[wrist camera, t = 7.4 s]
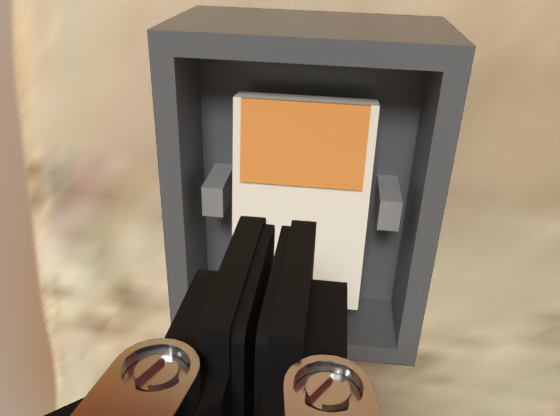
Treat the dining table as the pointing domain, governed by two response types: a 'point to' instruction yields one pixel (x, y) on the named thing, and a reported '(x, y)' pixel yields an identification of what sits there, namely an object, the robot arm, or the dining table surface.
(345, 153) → the rocker
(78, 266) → the dining table surface
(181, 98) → the switch box
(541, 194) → the dining table surface
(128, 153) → the dining table surface
